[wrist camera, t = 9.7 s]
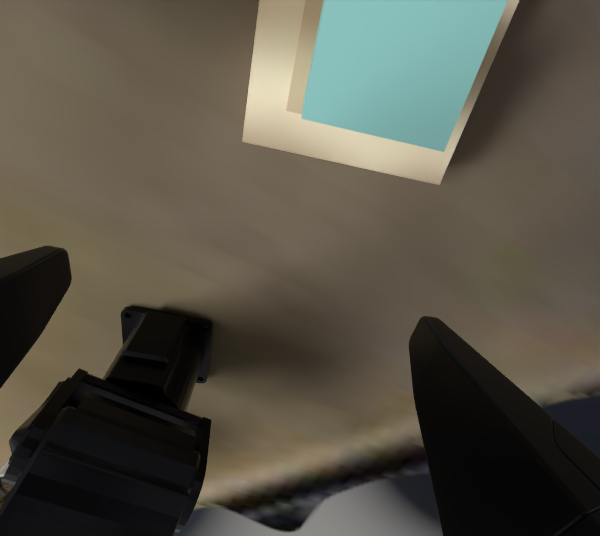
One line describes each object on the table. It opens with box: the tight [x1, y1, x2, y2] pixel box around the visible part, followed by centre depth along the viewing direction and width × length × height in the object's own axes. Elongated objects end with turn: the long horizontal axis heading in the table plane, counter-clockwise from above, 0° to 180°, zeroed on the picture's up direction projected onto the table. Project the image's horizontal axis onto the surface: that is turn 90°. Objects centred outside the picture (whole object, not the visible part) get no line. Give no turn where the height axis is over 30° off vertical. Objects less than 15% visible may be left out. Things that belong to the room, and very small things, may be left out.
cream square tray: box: [242, 0, 519, 185], centre depth 16 cm, size 10×10×3 cm
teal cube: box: [301, 0, 508, 152], centre depth 13 cm, size 5×5×5 cm
